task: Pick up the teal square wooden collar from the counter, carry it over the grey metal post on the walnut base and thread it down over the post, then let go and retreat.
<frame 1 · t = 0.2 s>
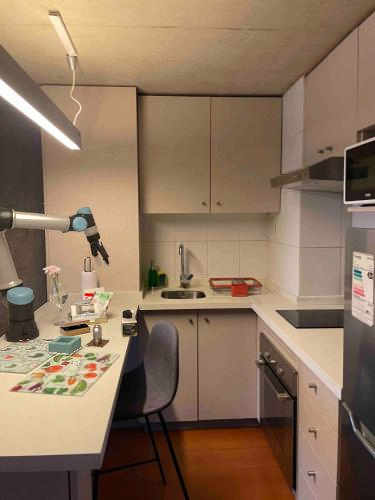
hand: (104, 267, 216), 28 cm above the table, tool tilted 20°, fingers open, 13 cm apart
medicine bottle: (129, 334, 183), on the table
collar: (65, 351, 161), on the table
post: (97, 343, 170), on the table
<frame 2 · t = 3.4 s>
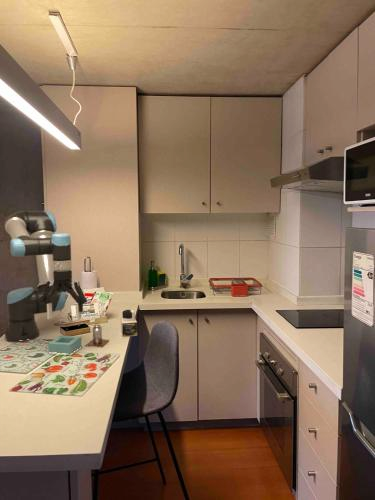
hand: (64, 318, 159), 14 cm above the table, tool pointing down, fingers open, 13 cm apart
nothing on the table moved.
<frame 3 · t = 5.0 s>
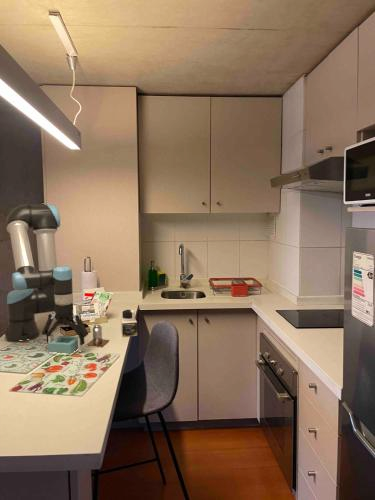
hand: (65, 351, 161), 0 cm above the table, tool pointing down, fingers open, 13 cm apart
nothing on the table moved.
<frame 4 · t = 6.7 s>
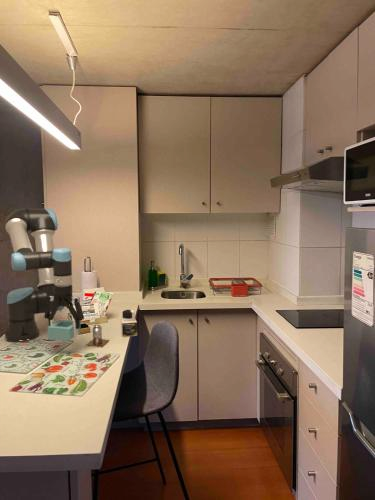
hand: (64, 334, 161), 7 cm above the table, tool pointing down, fingers closed on collar, 10 cm apart
collar: (64, 335, 161), point 7 cm above the table, touching gripper
everything else where it was.
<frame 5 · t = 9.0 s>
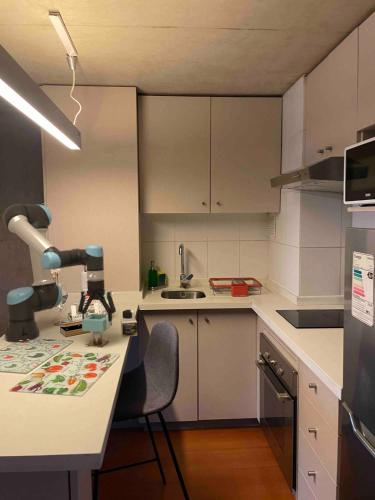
hand: (97, 327, 169), 8 cm above the table, tool pointing down, fingers closed on collar, 10 cm apart
collar: (97, 328, 169), point 7 cm above the table, touching gripper
everything else where it was.
when the fingers open (1 cm above the table, at t = 11.3 s): collar stays where it is, resting on post.
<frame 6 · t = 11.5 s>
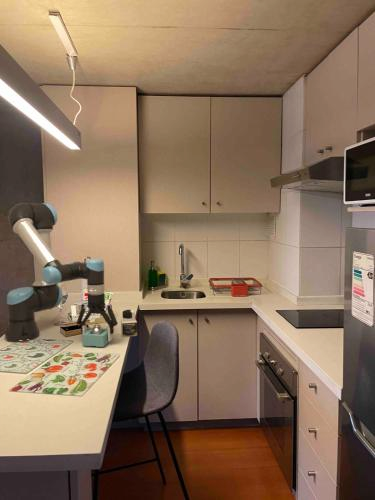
hand: (97, 339, 170), 2 cm above the table, tool pointing down, fingers open, 12 cm apart
collar: (97, 342, 170), point 1 cm above the table, touching post
everything else where it was.
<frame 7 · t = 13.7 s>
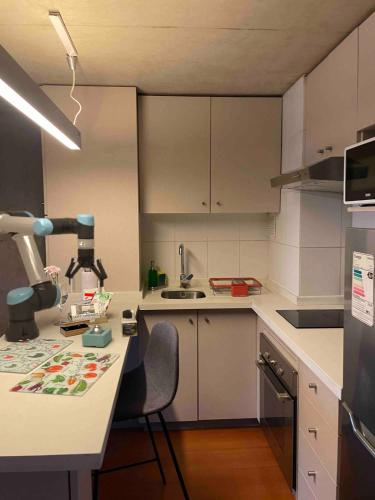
hand: (86, 292, 173), 22 cm above the table, tool pointing down, fingers open, 13 cm apart
nothing on the table moved.
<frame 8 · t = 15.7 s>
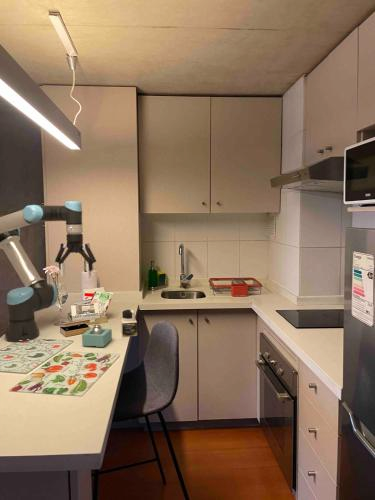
hand: (76, 277, 180), 29 cm above the table, tool pointing down, fingers open, 13 cm apart
nothing on the table moved.
at the end: collar 0.0 cm off-centre on the post, point 0.6 cm above the post's base; the gripper is holding nothing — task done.
